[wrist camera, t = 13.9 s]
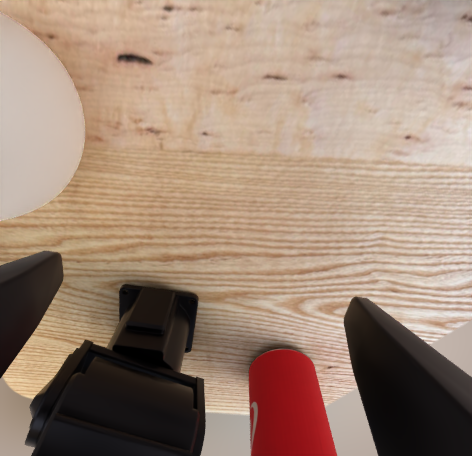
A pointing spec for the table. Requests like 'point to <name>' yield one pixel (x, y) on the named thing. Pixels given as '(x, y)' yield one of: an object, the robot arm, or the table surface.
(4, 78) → the ornament
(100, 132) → the table surface
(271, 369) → the beverage can
